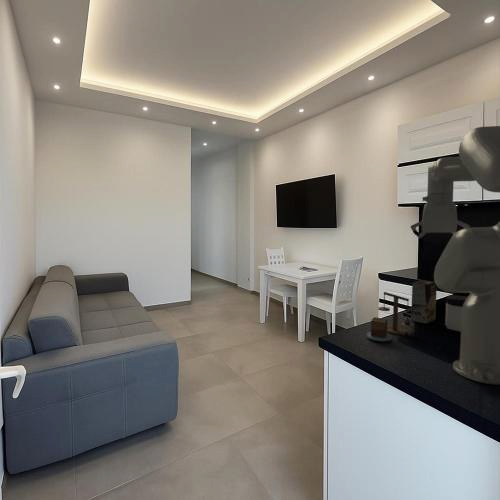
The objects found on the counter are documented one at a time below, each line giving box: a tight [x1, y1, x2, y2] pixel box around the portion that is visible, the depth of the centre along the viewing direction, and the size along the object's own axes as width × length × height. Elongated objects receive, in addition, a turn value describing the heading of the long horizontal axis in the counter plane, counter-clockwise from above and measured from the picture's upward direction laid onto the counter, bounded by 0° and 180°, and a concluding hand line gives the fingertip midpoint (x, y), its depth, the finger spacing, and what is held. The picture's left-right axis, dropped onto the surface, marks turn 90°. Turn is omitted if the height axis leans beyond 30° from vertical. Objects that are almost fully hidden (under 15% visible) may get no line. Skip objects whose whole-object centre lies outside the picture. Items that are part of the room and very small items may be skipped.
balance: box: [378, 291, 414, 337], centre depth 116 cm, size 4×12×15 cm, turn 58°
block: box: [370, 316, 388, 338], centre depth 110 cm, size 4×4×6 cm
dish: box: [366, 331, 392, 343], centre depth 110 cm, size 8×8×1 cm
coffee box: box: [410, 279, 438, 325], centre depth 130 cm, size 9×6×16 cm
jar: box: [444, 294, 468, 333], centre depth 120 cm, size 9×8×12 cm
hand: (438, 249), depth 108 cm, fingers open, 9 cm apart
